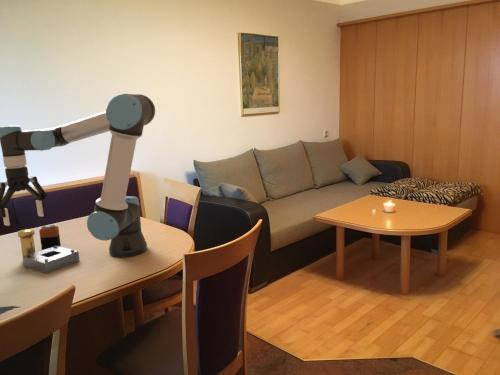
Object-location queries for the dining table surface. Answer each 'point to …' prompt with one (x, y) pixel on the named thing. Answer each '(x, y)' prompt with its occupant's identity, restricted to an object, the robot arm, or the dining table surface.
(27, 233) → the knob
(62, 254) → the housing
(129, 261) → the dining table surface
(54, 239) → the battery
